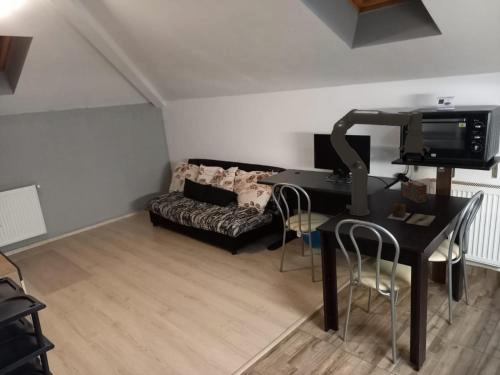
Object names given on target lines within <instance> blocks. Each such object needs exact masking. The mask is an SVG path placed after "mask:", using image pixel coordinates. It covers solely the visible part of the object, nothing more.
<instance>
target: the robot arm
mask: <svg viewBox="0 0 500 375" xmlns="http://www.w3.org/2000/svg"><path fill="white" fill-rule="evenodd" d="M355 125H370V126H385V127H387V126H388V127H405V126H407V130H405V134H407V135H406V136H405V139H404V140H405V141H404V145H401V146H399V147H398V149H399V151H400V153H401V154H402V155H403V157H402V158H403V162H407V161H408V154H407V153H415V154H420V155H421V156H420V158H421V159H420V163H423V162H425V159H426V158H425V157H426V155H427V154H428V153H429V152H430V150H431V147H429V146H428V145H427V146H426V145H425V143H424V142H425V141H424V135H423V112H422V111H420V110H419V111H417V110H416V111H398V112H387V111H382V110H377V109H375V110H374V109H357V108H352V109H350V110H349V111H348V112H347V113H346V114H344V116H342V117H341V118H340V119H338V120H337V121H336V122H335V123H334V124H333V126H332V131H331V133H330V139H329V140H330V143H331V145H332V147H333V149H334V150H335V152H336V153H337V155H338V156H339V157H340V159H341V161H342V163H343V164H345V165H346V167H347V168H348V169H349V171H350V172H351V205H350V204H346V206H345V208H346V210H347V209H348V210H349V212H348V213H349V214H350V215H352V216H355V215H356V216H355V217H365V216H368V215H370V213H371V211H370V210H369V209H368V180H369V179H368V178H369V171H368V168H367V166H366V164H365V163H364V161H363V160H362V159H361V157H360V155H359V154H358V153H357V152H356V150H355V149H353V148H352V147H351V146H350V144H349V143H348V141H347V140H346V134H347V133H348V131H349V130H350V129H351V128H353V127H354V126H355ZM403 148H404V149H403ZM424 150H425V151H424Z"/></svg>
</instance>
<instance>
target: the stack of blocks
mask: <svg viewBox="0 0 500 375" xmlns="http://www.w3.org/2000/svg"><path fill="white" fill-rule="evenodd" d="M427 188H428V185H427V184H425V183H423V182H421V181H418V180H411V181H410V180H409V181H405V182H400V196H402V197H404V198H406V199H408V200H411V201H412V202H413V203H416V204H423V203H427V193H428V192H427V191H428V190H427Z"/></svg>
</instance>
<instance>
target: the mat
mask: <svg viewBox="0 0 500 375" xmlns="http://www.w3.org/2000/svg"><path fill="white" fill-rule="evenodd" d="M410 215H411V213H410V212H409V213H408V212H406V215H405V216H404V217H403V218H399V217H392V213H391V214H389V215H388V217H386V219H390V220H397V221H405V220H406V219H407V218H408V217H409V216H410Z"/></svg>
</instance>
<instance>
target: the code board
mask: <svg viewBox="0 0 500 375" xmlns="http://www.w3.org/2000/svg"><path fill="white" fill-rule="evenodd" d="M434 219H436V215H428V214H421V213H414V214H413V215H412V216H411V217H410V218H408V220H407V221H405V223H406V224H413V225H417V226H418V225H419V226H425V227H429V226H430V224H431V223H432V222H433V221H434Z"/></svg>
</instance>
